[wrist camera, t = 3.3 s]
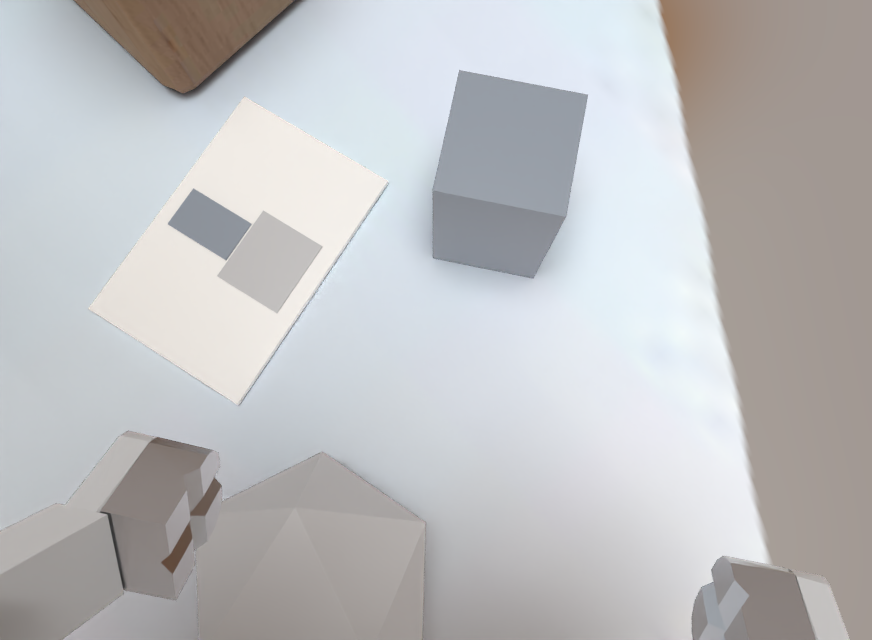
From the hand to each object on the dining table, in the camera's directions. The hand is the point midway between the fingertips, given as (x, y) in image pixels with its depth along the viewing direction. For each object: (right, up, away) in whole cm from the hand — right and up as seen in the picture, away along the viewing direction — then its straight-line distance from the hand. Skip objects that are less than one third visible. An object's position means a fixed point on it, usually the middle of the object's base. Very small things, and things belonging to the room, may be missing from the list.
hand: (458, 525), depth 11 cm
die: (-5, -7, +18) cm, 20 cm away
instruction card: (-9, +7, +20) cm, 23 cm away
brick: (+2, +8, +21) cm, 22 cm away
